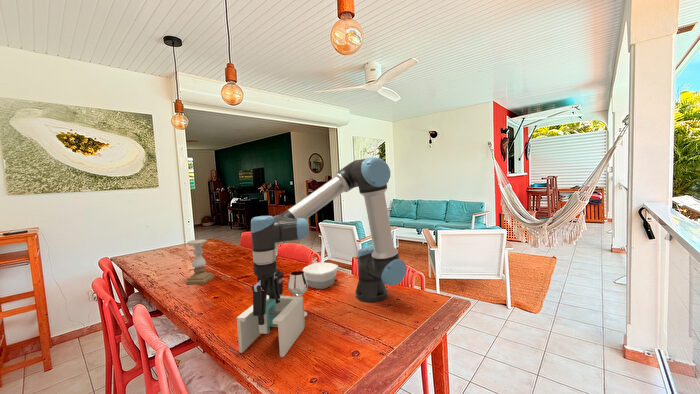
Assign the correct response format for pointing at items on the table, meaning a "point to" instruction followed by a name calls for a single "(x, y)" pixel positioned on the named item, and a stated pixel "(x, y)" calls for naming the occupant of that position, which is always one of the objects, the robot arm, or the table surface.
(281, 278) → the coffee cup
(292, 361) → the table surface
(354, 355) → the table surface
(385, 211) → the robot arm
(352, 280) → the table surface
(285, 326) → the white c-frame
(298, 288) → the wineglass
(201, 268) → the candle holder
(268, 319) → the teal u-shaped bracket
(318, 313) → the table surface
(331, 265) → the bowl
